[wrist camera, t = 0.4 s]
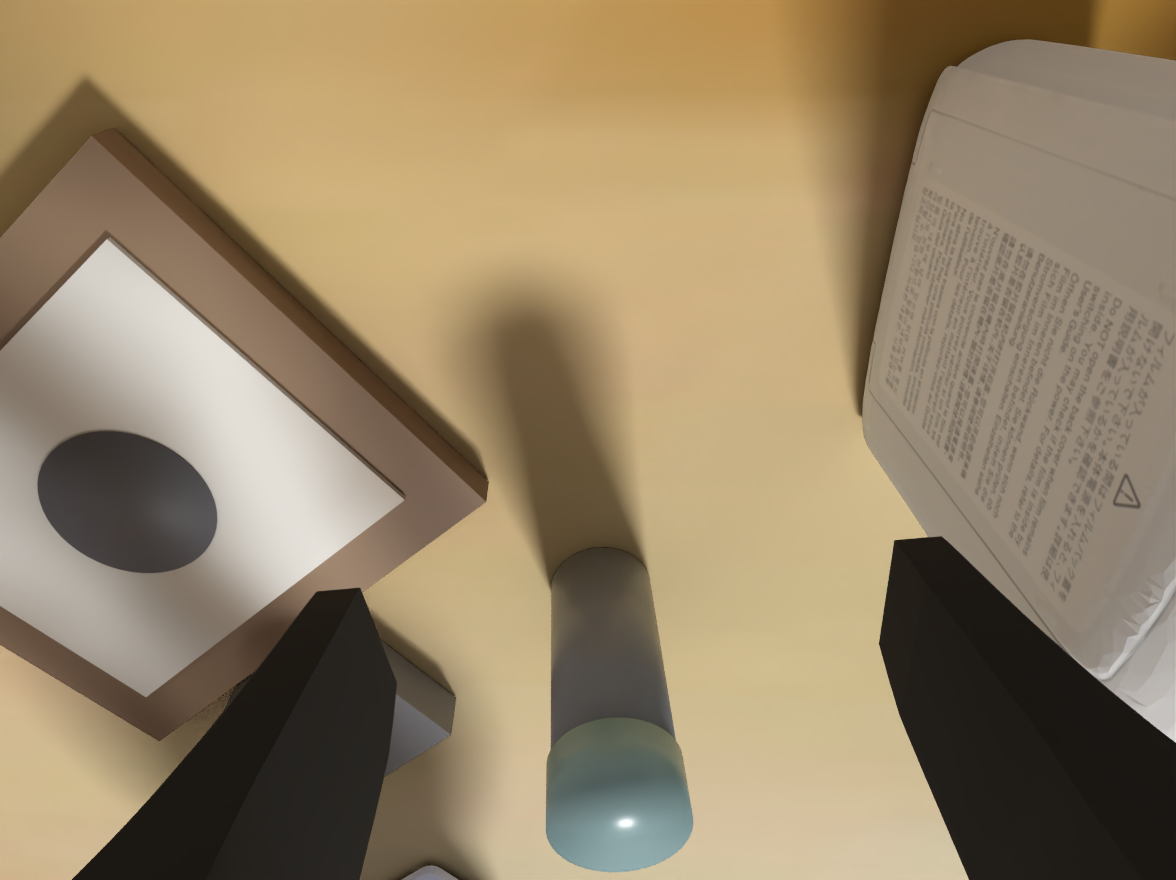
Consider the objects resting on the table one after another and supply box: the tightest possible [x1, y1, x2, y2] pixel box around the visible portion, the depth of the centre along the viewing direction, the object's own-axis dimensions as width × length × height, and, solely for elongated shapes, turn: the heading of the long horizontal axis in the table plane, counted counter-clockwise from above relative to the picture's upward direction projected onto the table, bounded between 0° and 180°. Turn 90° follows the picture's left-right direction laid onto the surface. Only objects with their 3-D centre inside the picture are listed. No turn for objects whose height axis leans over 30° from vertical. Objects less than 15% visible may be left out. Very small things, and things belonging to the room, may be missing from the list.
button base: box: [224, 641, 456, 777], centre depth 26 cm, size 5×5×2 cm
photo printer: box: [862, 39, 1176, 743], centre depth 15 cm, size 10×4×12 cm, turn 179°
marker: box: [546, 547, 693, 872], centre depth 21 cm, size 3×3×8 cm
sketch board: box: [0, 128, 489, 741], centre depth 21 cm, size 14×12×1 cm
